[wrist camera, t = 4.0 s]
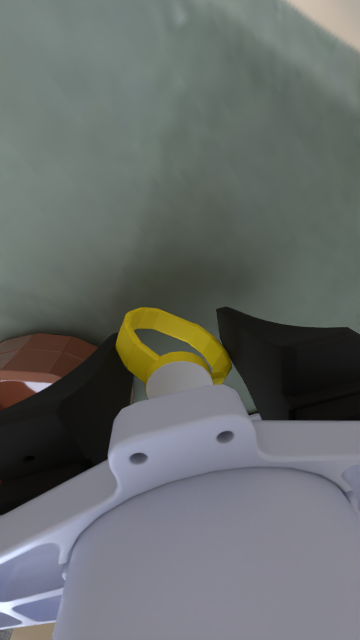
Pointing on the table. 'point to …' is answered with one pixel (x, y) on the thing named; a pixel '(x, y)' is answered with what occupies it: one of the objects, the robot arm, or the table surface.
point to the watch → (171, 354)
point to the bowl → (38, 364)
